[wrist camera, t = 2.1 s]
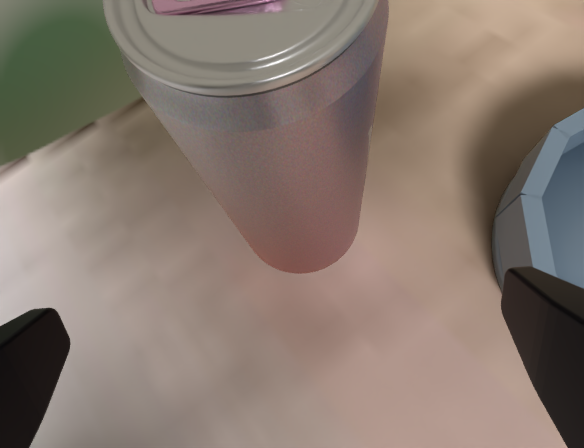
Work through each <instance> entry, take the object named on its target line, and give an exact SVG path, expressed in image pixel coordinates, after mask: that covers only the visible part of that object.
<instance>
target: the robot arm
mask: <svg viewBox="0 0 584 448" xmlns="http://www.w3.org/2000/svg"><path fill="white" fill-rule="evenodd" d="M501 310H502V314H503V317H504V319H505V322H506V324H507V326H508V329H509V331H510V333H511V336H512V338H513V340H514V343H515V345H516V347H517V350H518V352H519V354H520V357H521V359H522V361H523V364H524V366H525V369H526V371H527V373H528V376H529V378H530V380H531V382H532V384H533V386H534V388H535V390H536V392H537V394H538V396H539V398H540V400H541V401H542V403H543V405H544V407H545V408H546V410H547V412H548V414H549V415H550V417H551V419H552V421H553V423H554V424H555V426H556V428H557V430H558V431H559V433H560V435H561V437H562V438H563V440H564V442H565V444H566V446H567V447H568V448H584V288H581V287H579V286H576V285H574V284H572V283H569V282H567V281H565V280H562V279H560V278H558V277H555V276H553V275H550V274H548V273H546V272H543V271H541V270H539V269H536V268H534V267H531V266H523V267H512V268H509V269H507V270H506V272H505V275H504V283H503V291H502V299H501ZM69 350H70V338H69V336H68V333H67V331H66V329H65V327H64V325H63V322H62V320H61V318H60V316H59V314H58V312H57V311H56V310H55V309H53V308H41V309H33V310H30V311H28V312H26V313H24V314H22V315H21V316H19V317H17V318H15V319H13V320H11V321H9V322H7V323H6V324H4V325H2V326H0V448H29V447H30V445H31V443H32V441H33V439H34V437H35V435H36V433H37V431H38V429H39V427H40V424H41V422H42V420H43V418H44V415H45V413H46V410H47V408H48V405H49V403H50V400H51V397H52V395H53V392H54V390H55V387H56V384H57V382H58V379H59V376H60V374H61V371H62V369H63V366H64V363H65V361H66V358H67V355H68V353H69Z"/></svg>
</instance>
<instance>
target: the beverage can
mask: <svg viewBox="0 0 584 448" xmlns="http://www.w3.org/2000/svg"><path fill="white" fill-rule="evenodd" d="M103 7H104V14H105V18H106V22H107V25H108V28H109V30H110V32H111V35H112V36H113V38H114V40H115V42H116V44H117V45H118V47H119V48H120V50H121V54H122V60H123V62H124V66H125V68H126V71H127V73H128V76H129V77H130V79H131V81H132V83H133V84H134V85H135V87H136V89H137V90H138V91H139V93H140V94H141V96H142V97H143V98H144V100H145V101H146V102H147V104H148V105H149V107H150V108H151V109H152V111H153V112H154V114H155V115H156V116H157V118H158V119H159V120H160V122H161V123H162V125H163V126H164V127H165V129H166V130H167V132H168V133H169V134H170V136H171V137H172V138H173V140H174V141H175V143H176V144H177V145H178V147H179V148H180V150H181V151H182V152H183V154H184V155H185V156H186V158H187V159H188V161H189V162H190V163H191V165H192V166H193V168H194V169H195V170H196V172H197V173H198V174H199V176H200V177H201V179H202V180H203V181H204V183H205V184H206V186H207V187H208V188H209V190H210V191H211V192H212V194H213V195H214V197H215V198H216V199H217V201H218V202H219V204H220V205H221V206H222V208H223V209H224V210H225V212H226V213H227V215H228V216H229V217H230V219H231V220H232V222H233V223H234V224H235V226H236V227H237V228H238V230H239V231H240V233H241V234H242V235H243V237H244V238H245V240H246V241H247V242H248V244H249V245H250V246H251V248H252V249H253V251H254V252H255V253H256V254H257V255H258V256H259V257H260V258H261V259H262V260H263V261H264V262H265V263H267V264H268V265H270V266H272V267H274V268H276V269H278V270H281V271H285V272H289V273H310V272H315V271H318V270H321V269H324V268H326V267H328V266H330V265H331V264H333V263H335V262H336V261H337V260H339V259H340V258H341V257H342V256H343V255H344V254H345V253H346V251H347V250H348V249H349V247H350V246H351V244H352V243H353V241H354V238H355V236H356V233H357V230H358V224H359V217H360V211H361V204H362V197H363V190H364V183H365V176H366V169H367V162H368V155H369V148H370V141H371V135H372V128H373V121H374V114H375V107H376V100H377V93H378V86H379V79H380V72H381V65H382V58H383V52H384V45H385V38H386V31H387V24H388V12H389V7H388V0H103Z"/></svg>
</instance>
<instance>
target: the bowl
mask: <svg viewBox="0 0 584 448" xmlns="http://www.w3.org/2000/svg"><path fill="white" fill-rule="evenodd" d="M491 243H492V257H493V263H494V268H495V273H496V277H497V280H498V283H499V286H500V289H501V292H502V291H503V283H504V275H505V272H506V270H507V269H509V268H512V267H523V266H531V267H534V268H536V269H539V270H541V271H543V272H546V273H548V274H550V275H553V276H555V277H558V278H560V279H562V280H565V281H567V282H569V283H572V284H574V285H576V286H579V287H581V288H584V108H583V109H581V110H580V111H578V112H576V113H574V114H573V115H571V116H569V117H567V118H566V119H564V120H562V121H560V122H558V123H557V124H555V125H554V126H553V127H552V128H551V129H550V130H549V131H548V132H547V133H546V134H545V136H544V137H543V138H542V139H541V140H540V141H539V142H538V143H537V145H536V146H535V147H534V148H533V149H532V150H531V151H530V152H529V154H528V155H527V156H526V157H525V158H524V159H523V161H522V163H521V165H520V167H519V169H518V171H517V173H516V175H515V176H514V178H513V179H512V180H511V181H510V183H509V184H508V186H507V188H506V189H505V191H504V193H503V195H502V197H501V199H500V202H499V204H498V207H497V209H496V213H495V218H494V222H493V228H492V242H491Z"/></svg>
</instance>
